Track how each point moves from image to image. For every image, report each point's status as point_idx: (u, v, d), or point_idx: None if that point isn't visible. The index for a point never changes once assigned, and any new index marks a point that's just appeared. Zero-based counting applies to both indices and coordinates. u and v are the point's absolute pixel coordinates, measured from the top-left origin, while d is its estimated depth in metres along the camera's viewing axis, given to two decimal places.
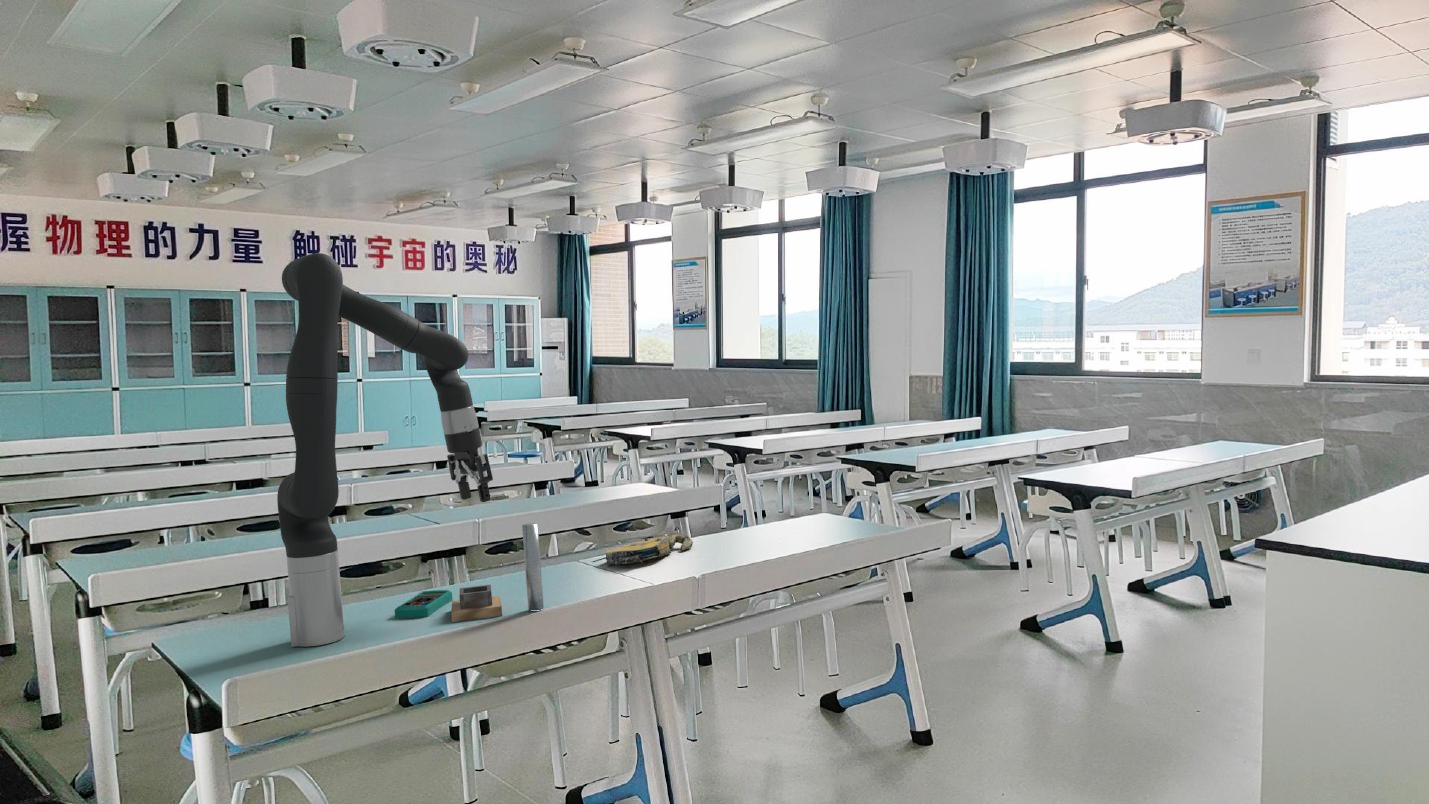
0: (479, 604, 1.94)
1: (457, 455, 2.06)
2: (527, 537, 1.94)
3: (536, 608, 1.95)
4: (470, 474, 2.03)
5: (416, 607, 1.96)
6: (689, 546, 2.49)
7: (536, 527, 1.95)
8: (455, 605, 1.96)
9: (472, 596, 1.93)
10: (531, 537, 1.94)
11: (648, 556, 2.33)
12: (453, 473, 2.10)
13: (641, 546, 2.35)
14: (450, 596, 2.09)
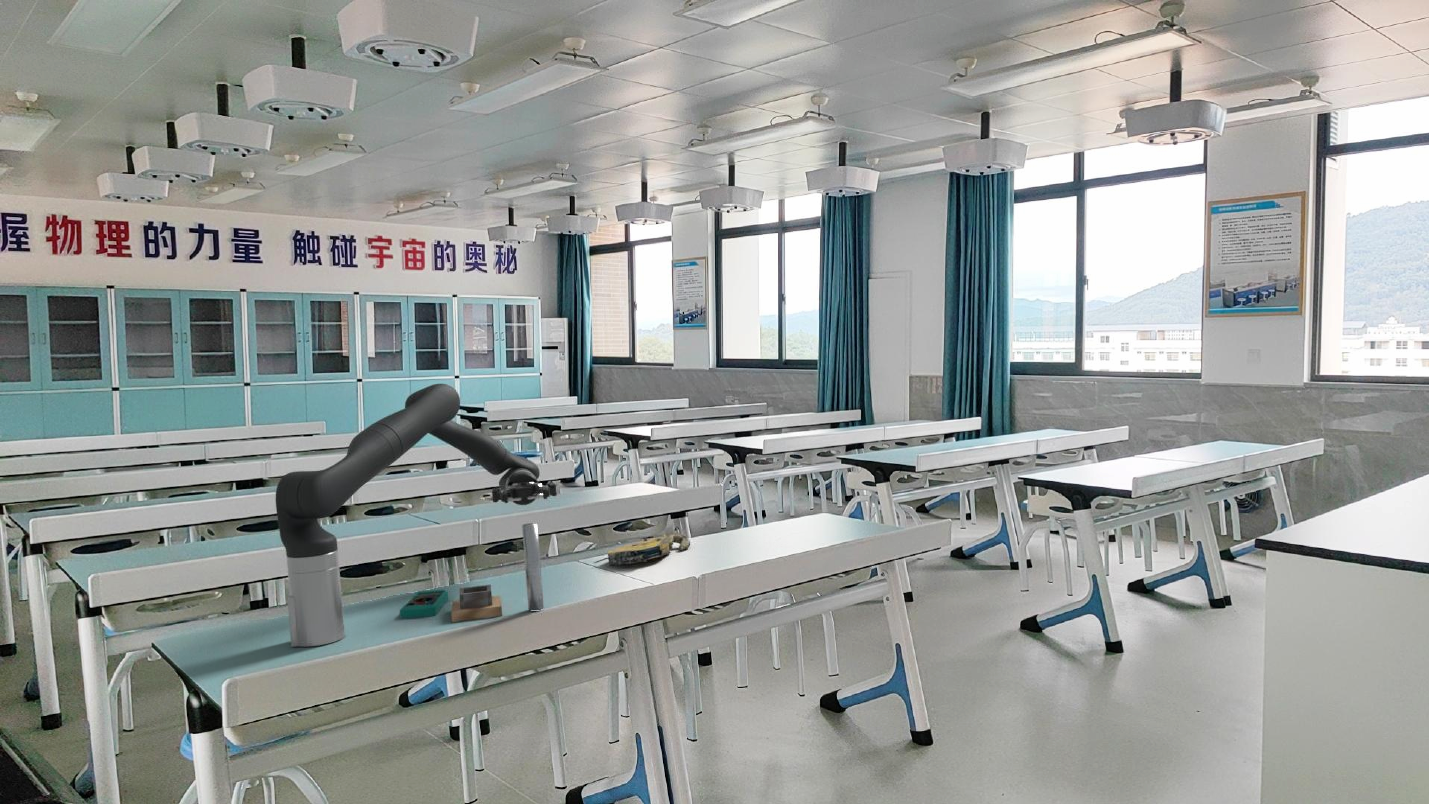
0: (479, 604, 1.94)
1: None
2: (527, 537, 1.94)
3: (536, 608, 1.95)
4: (538, 483, 2.13)
5: (423, 606, 1.97)
6: (687, 546, 2.50)
7: (536, 527, 1.95)
8: (455, 605, 1.96)
9: (472, 596, 1.93)
10: (531, 537, 1.94)
11: (651, 556, 2.33)
12: (497, 490, 2.11)
13: (644, 546, 2.35)
14: (447, 595, 2.10)
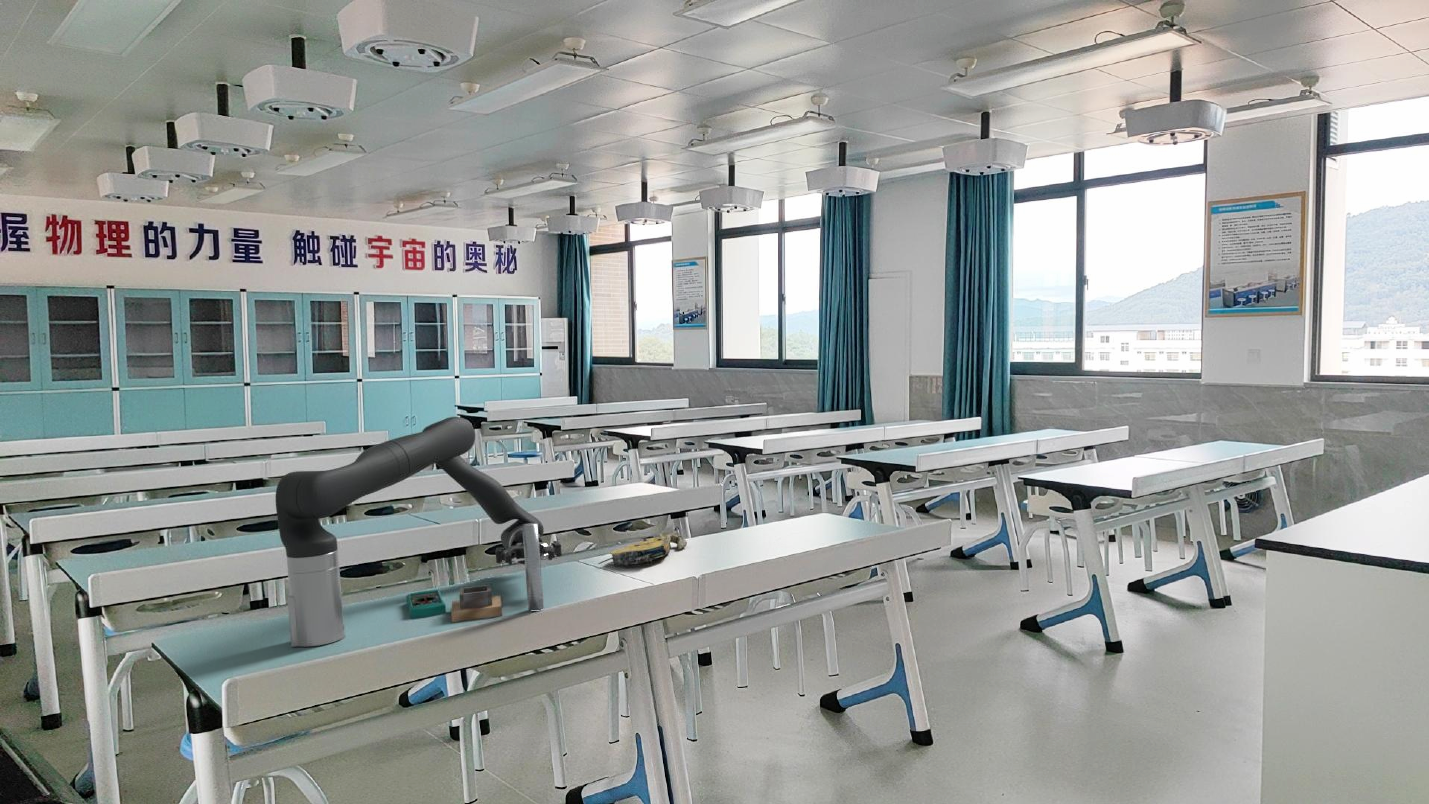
0: (479, 604, 1.94)
1: None
2: (527, 537, 1.94)
3: (536, 608, 1.95)
4: (542, 543, 2.09)
5: (434, 604, 1.98)
6: (684, 545, 2.51)
7: (536, 527, 1.95)
8: (455, 605, 1.96)
9: (472, 596, 1.93)
10: (531, 537, 1.94)
11: (656, 555, 2.34)
12: (501, 551, 2.06)
13: (648, 546, 2.35)
14: None
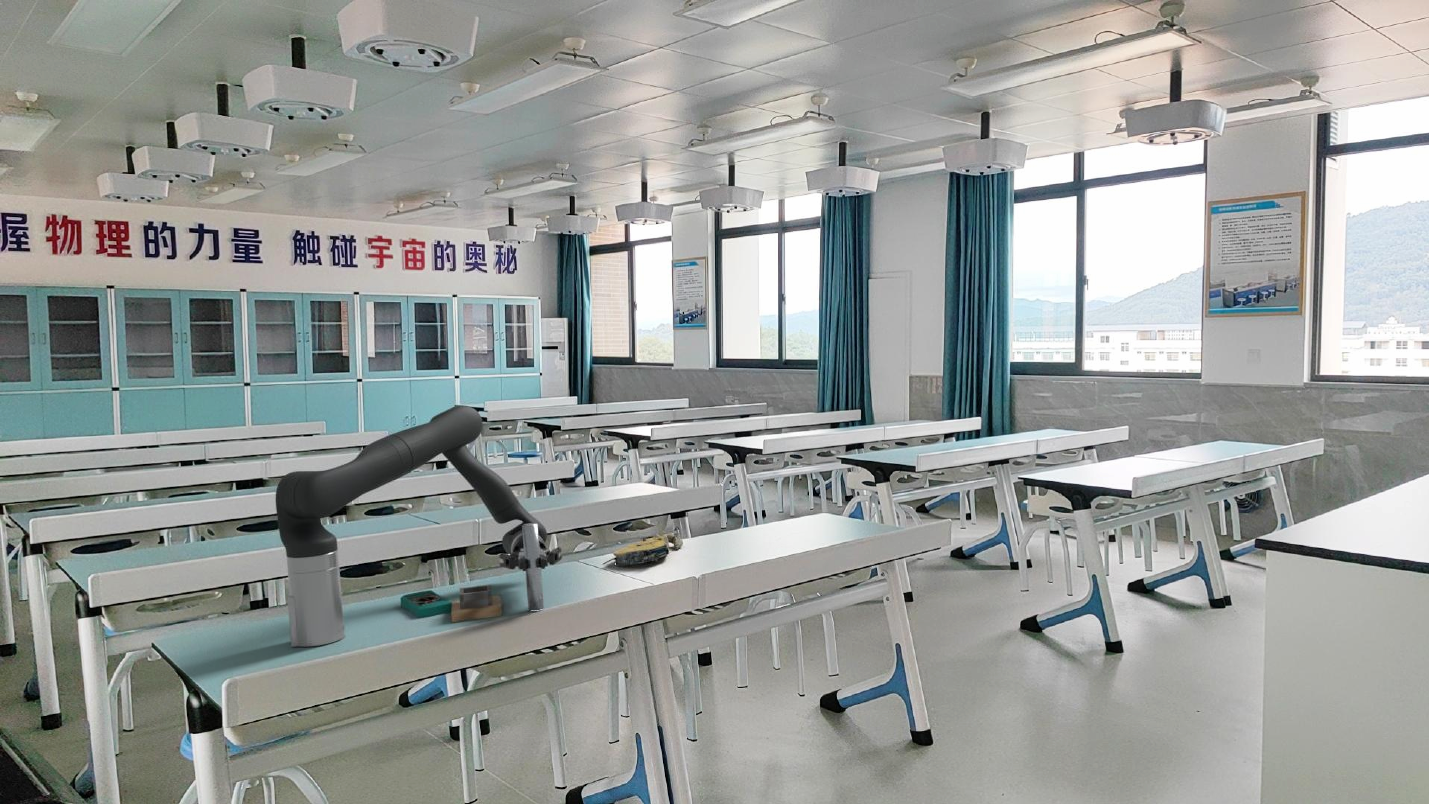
0: (479, 604, 1.94)
1: (520, 551, 2.04)
2: (527, 537, 1.94)
3: (536, 608, 1.95)
4: None
5: (441, 603, 1.99)
6: (681, 544, 2.52)
7: (536, 527, 1.95)
8: (455, 605, 1.96)
9: (472, 596, 1.93)
10: (531, 537, 1.94)
11: (661, 555, 2.34)
12: None
13: (652, 545, 2.35)
14: None
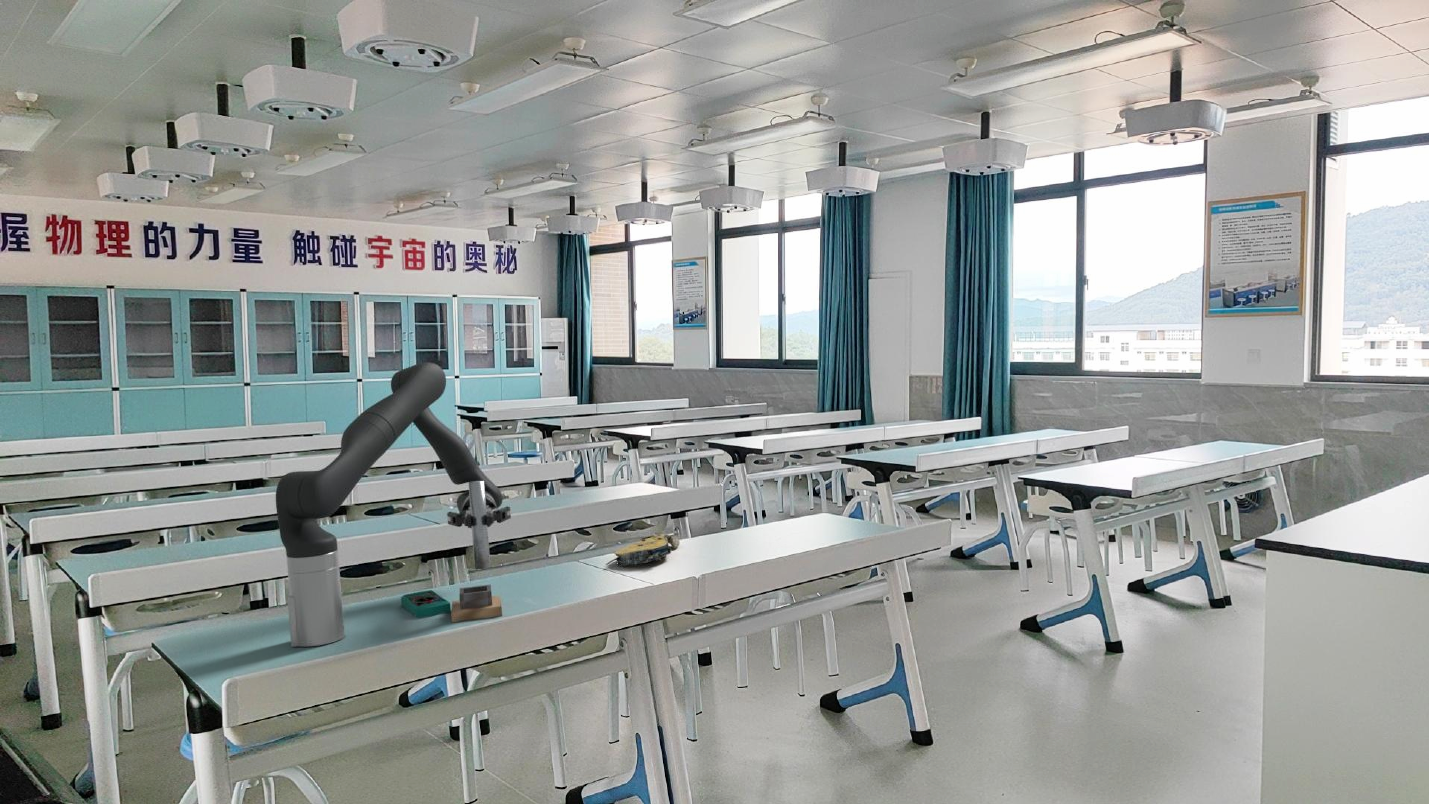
0: (479, 604, 1.94)
1: None
2: (473, 494, 1.94)
3: (482, 565, 1.94)
4: (487, 508, 2.00)
5: (439, 603, 1.99)
6: (678, 544, 2.53)
7: (482, 484, 1.94)
8: (455, 605, 1.96)
9: (472, 596, 1.93)
10: (477, 494, 1.94)
11: (663, 554, 2.35)
12: None
13: (655, 545, 2.35)
14: None
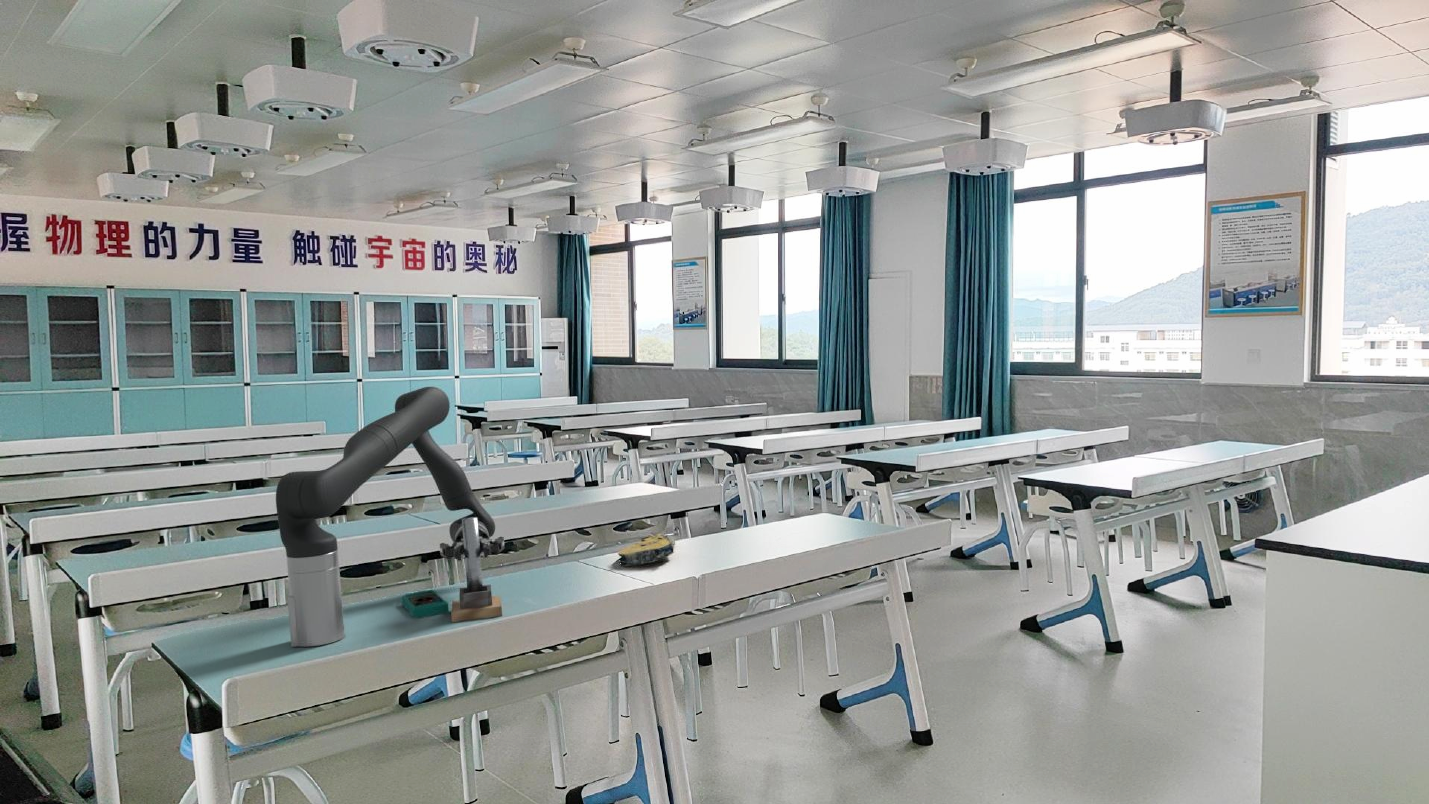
0: (479, 604, 1.94)
1: None
2: (467, 531, 1.94)
3: None
4: (482, 539, 2.01)
5: (437, 603, 1.98)
6: (674, 544, 2.54)
7: (476, 521, 1.95)
8: (455, 605, 1.96)
9: (472, 596, 1.93)
10: (470, 531, 1.94)
11: (668, 553, 2.35)
12: (449, 546, 1.98)
13: (659, 544, 2.36)
14: None
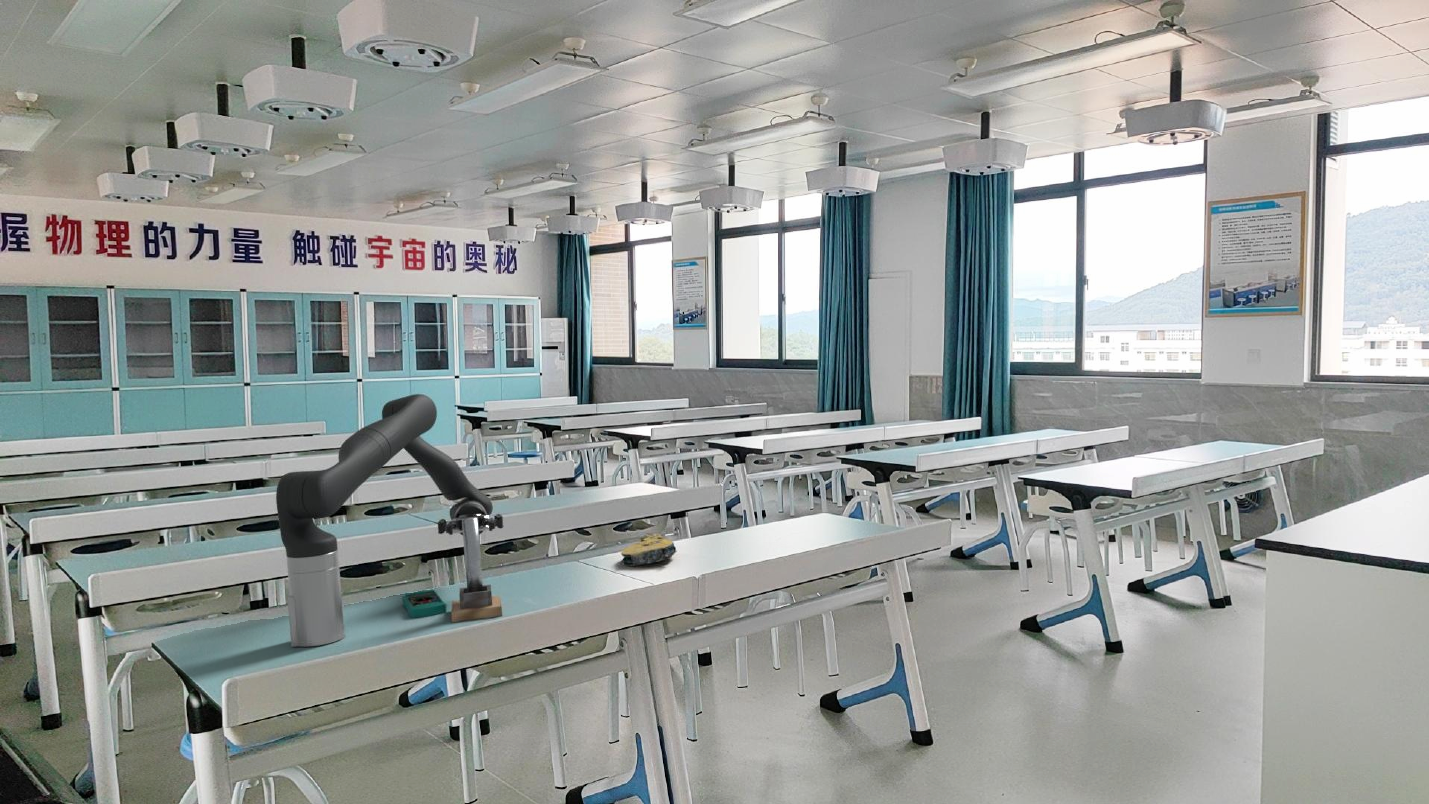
0: (479, 604, 1.94)
1: None
2: (467, 531, 1.94)
3: None
4: (484, 515, 2.13)
5: (435, 604, 1.98)
6: None
7: (476, 521, 1.95)
8: (455, 605, 1.96)
9: (472, 596, 1.93)
10: (470, 531, 1.94)
11: (672, 552, 2.36)
12: (443, 522, 2.11)
13: (663, 543, 2.36)
14: None
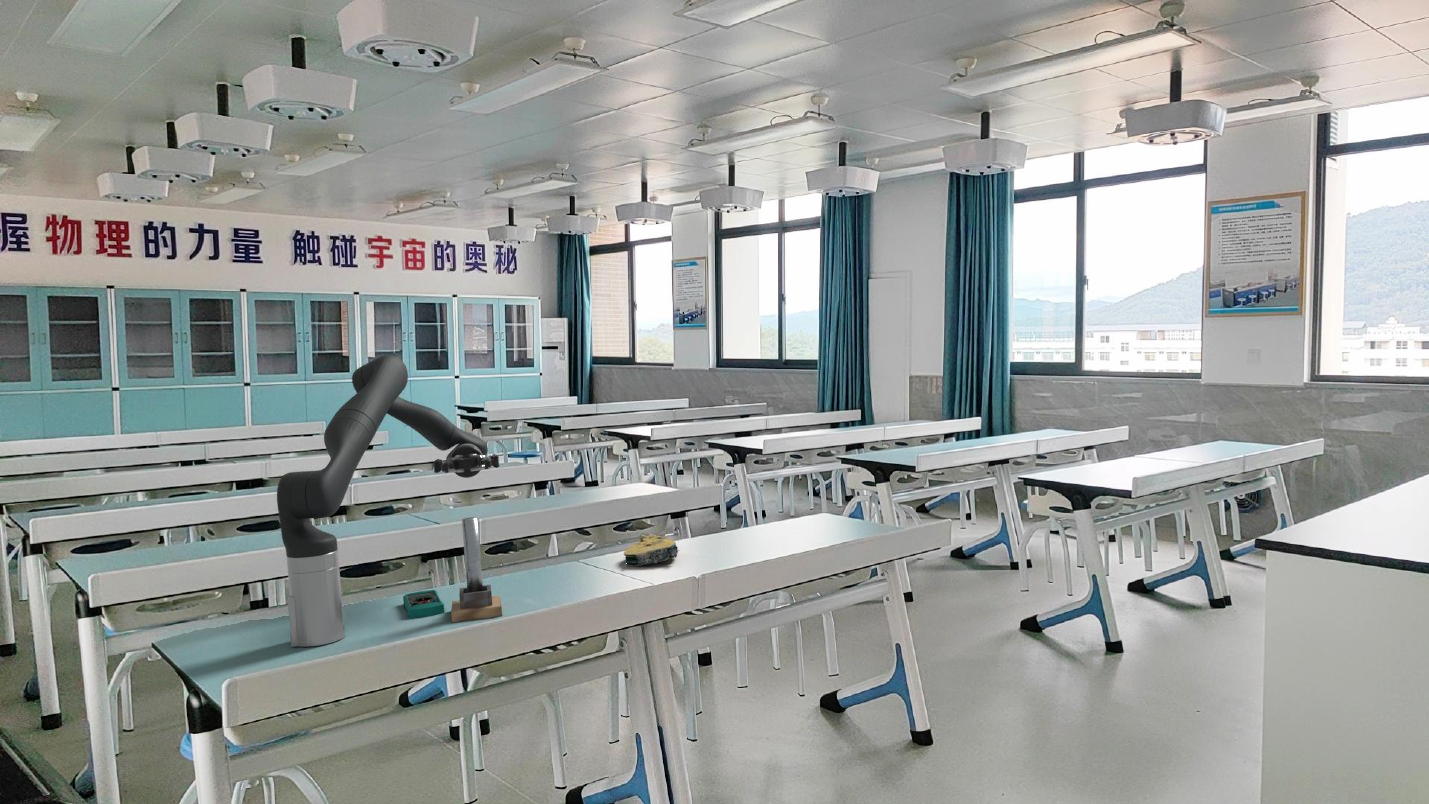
0: (479, 604, 1.94)
1: None
2: (467, 531, 1.94)
3: None
4: (480, 455, 2.13)
5: (432, 604, 1.98)
6: None
7: (476, 521, 1.95)
8: (455, 605, 1.96)
9: (472, 596, 1.93)
10: (470, 531, 1.94)
11: (676, 551, 2.37)
12: (439, 461, 2.11)
13: (666, 543, 2.37)
14: None
